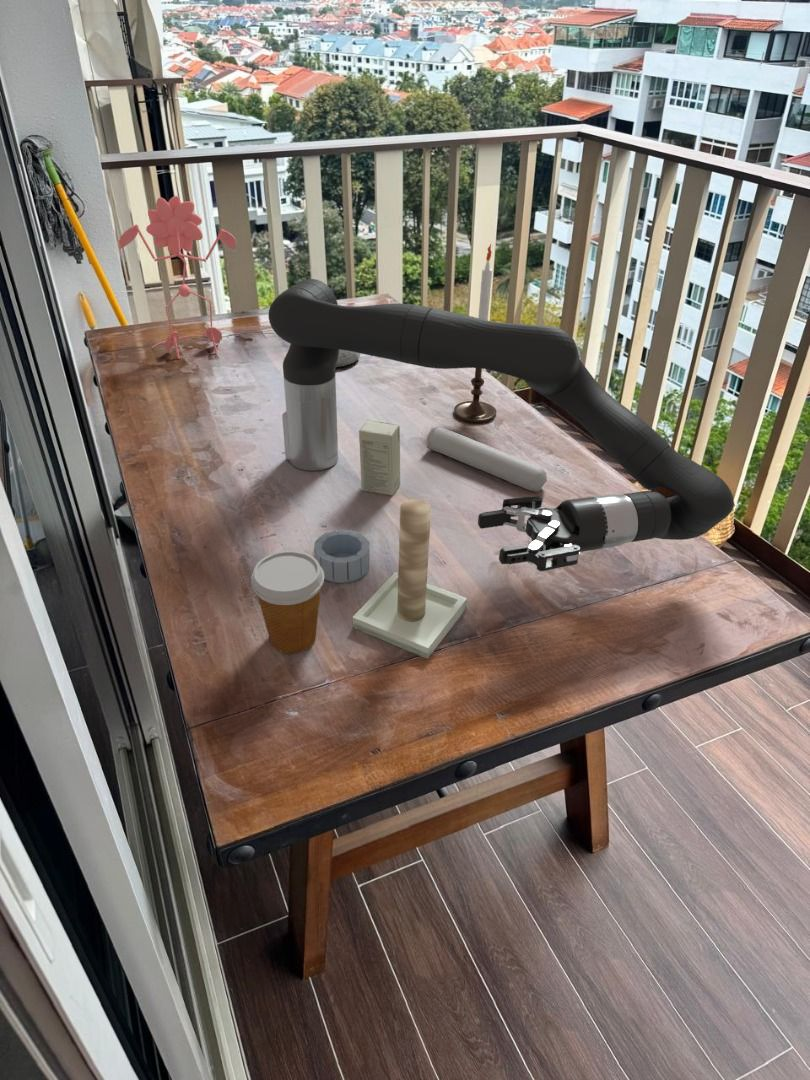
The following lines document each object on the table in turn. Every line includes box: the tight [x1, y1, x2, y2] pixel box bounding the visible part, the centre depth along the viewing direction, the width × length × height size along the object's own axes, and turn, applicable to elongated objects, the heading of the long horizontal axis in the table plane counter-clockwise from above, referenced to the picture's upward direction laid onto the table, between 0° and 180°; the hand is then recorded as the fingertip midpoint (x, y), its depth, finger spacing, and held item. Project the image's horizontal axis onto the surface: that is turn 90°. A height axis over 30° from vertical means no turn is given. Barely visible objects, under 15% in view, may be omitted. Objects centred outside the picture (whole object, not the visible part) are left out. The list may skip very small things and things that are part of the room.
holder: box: [313, 529, 371, 584], centre depth 117 cm, size 8×8×4 cm
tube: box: [425, 424, 548, 492], centre depth 142 cm, size 5×5×25 cm
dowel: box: [397, 498, 432, 622], centre depth 103 cm, size 4×4×18 cm
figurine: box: [118, 195, 237, 360], centre depth 178 cm, size 15×26×35 cm, turn 113°
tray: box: [352, 571, 468, 659], centre depth 108 cm, size 12×12×2 cm
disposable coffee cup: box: [250, 550, 325, 654], centre depth 101 cm, size 10×10×12 cm
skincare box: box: [358, 419, 401, 496], centre depth 133 cm, size 6×4×12 cm
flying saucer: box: [335, 350, 361, 368], centre depth 183 cm, size 15×15×6 cm
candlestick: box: [453, 243, 497, 425], centre depth 151 cm, size 11×11×35 cm
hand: (489, 538), depth 103 cm, fingers open, 8 cm apart
